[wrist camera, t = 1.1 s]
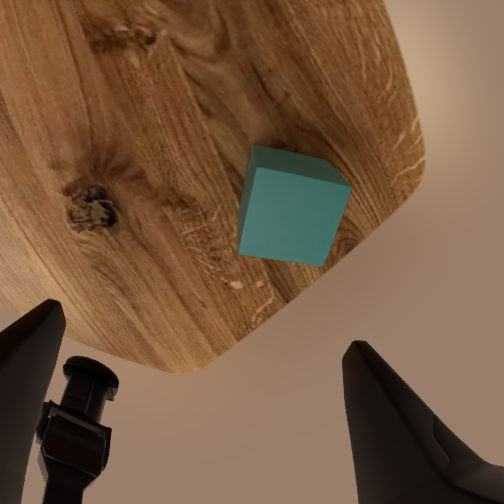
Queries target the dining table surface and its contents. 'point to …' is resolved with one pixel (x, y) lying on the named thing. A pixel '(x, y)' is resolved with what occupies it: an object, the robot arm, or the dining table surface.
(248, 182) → the toy cube
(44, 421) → the robot arm
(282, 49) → the dining table surface
